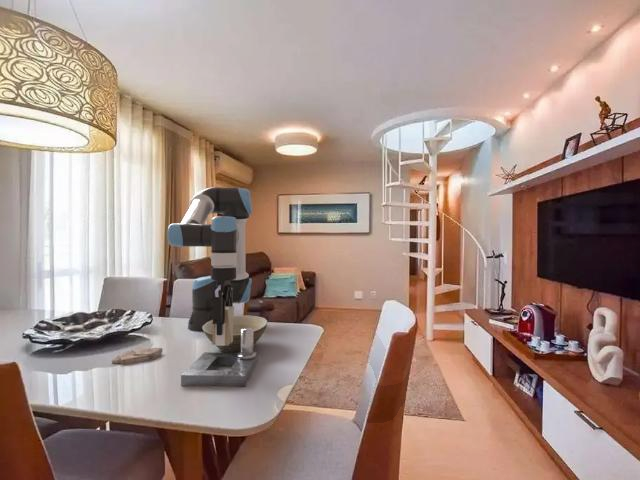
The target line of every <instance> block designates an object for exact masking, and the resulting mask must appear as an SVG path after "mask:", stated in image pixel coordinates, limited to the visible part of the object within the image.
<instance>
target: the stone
mask: <svg viewBox="0 0 640 480" xmlns="http://www.w3.org/2000/svg"><path fill="white" fill-rule="evenodd" d="M162 354H163V348H162V347H136V348H134V349H131V350H129V351H125V352H124V353H122V354H120V355H117V356H116V357H115V358H114V359H112V360H111V363H112V364H121V365H129V364H133V363H139V362H144V361H145V362H146V361H150V360H156V359H157V358H159V357H160V356H161V355H162Z"/></svg>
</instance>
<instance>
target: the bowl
mask: <svg viewBox="0 0 640 480" xmlns="http://www.w3.org/2000/svg"><path fill="white" fill-rule="evenodd" d="M212 322H213V320H211V321H209V322H207V323H206V324H204V325H203V327H202V329H203V333H204V334H205V336H206V338H207V339H208V340H209V341H210V342H211V343H212V336H213V324H212ZM244 327H252V328H253V347H254V345H255V344H256V343H257V342H258V340H260V339H261V337H262V335H263V333H264V332H265V330H266V329H267V327H268V320H267V319H266V318H265V317H263V316H262V317H261V316H257V315H256V316H255V315H246V314H245V315H243V314H242V315H241V314H237V315H234V319H233V342H232V343H230V344H229V345H228V346H216V347H217V348H218V349H219V350H220V351H222V352H223V353H239V352H241V328H244Z"/></svg>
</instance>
